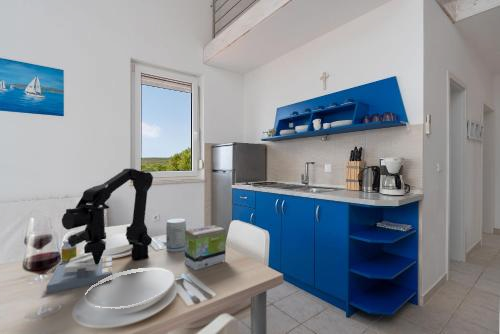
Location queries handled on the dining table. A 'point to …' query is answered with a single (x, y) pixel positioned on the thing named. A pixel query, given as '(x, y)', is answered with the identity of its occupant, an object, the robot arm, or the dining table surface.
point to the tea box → (205, 246)
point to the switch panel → (79, 276)
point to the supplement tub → (175, 235)
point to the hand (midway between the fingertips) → (97, 263)
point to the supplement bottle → (67, 252)
